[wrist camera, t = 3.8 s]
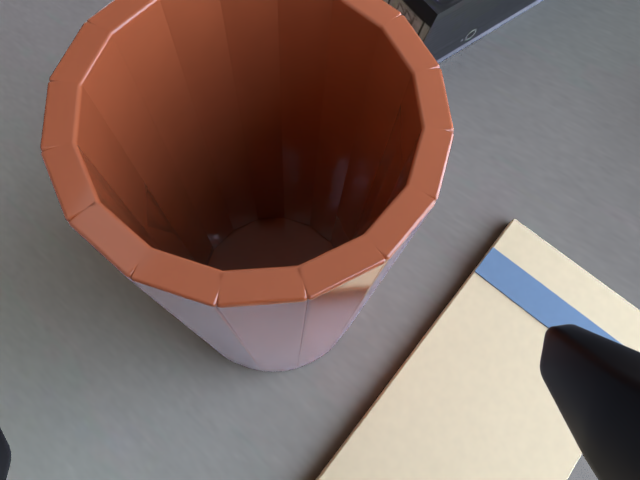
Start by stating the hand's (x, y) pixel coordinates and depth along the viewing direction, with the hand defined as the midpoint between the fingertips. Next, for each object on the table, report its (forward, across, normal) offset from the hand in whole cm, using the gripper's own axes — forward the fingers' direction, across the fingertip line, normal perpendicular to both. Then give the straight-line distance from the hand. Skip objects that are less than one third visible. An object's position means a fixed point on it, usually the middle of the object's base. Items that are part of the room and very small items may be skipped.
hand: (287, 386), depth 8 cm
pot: (+11, 0, +5) cm, 12 cm away
